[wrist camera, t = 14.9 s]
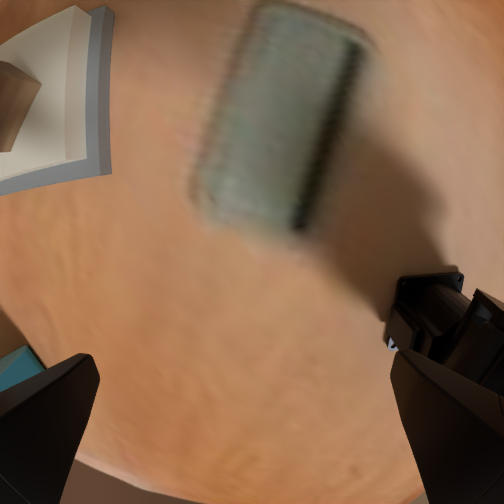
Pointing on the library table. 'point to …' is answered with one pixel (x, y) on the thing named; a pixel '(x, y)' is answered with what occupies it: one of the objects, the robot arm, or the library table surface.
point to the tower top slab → (50, 92)
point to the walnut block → (14, 102)
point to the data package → (18, 367)
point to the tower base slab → (94, 115)
